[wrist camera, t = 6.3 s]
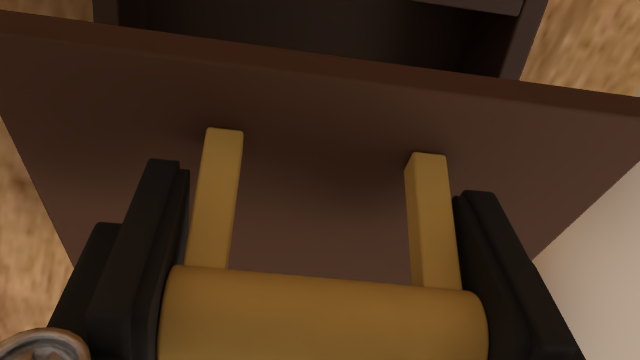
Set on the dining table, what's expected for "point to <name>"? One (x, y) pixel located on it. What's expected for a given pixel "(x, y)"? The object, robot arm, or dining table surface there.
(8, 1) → the dining table surface
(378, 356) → the box lid
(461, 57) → the brown box
